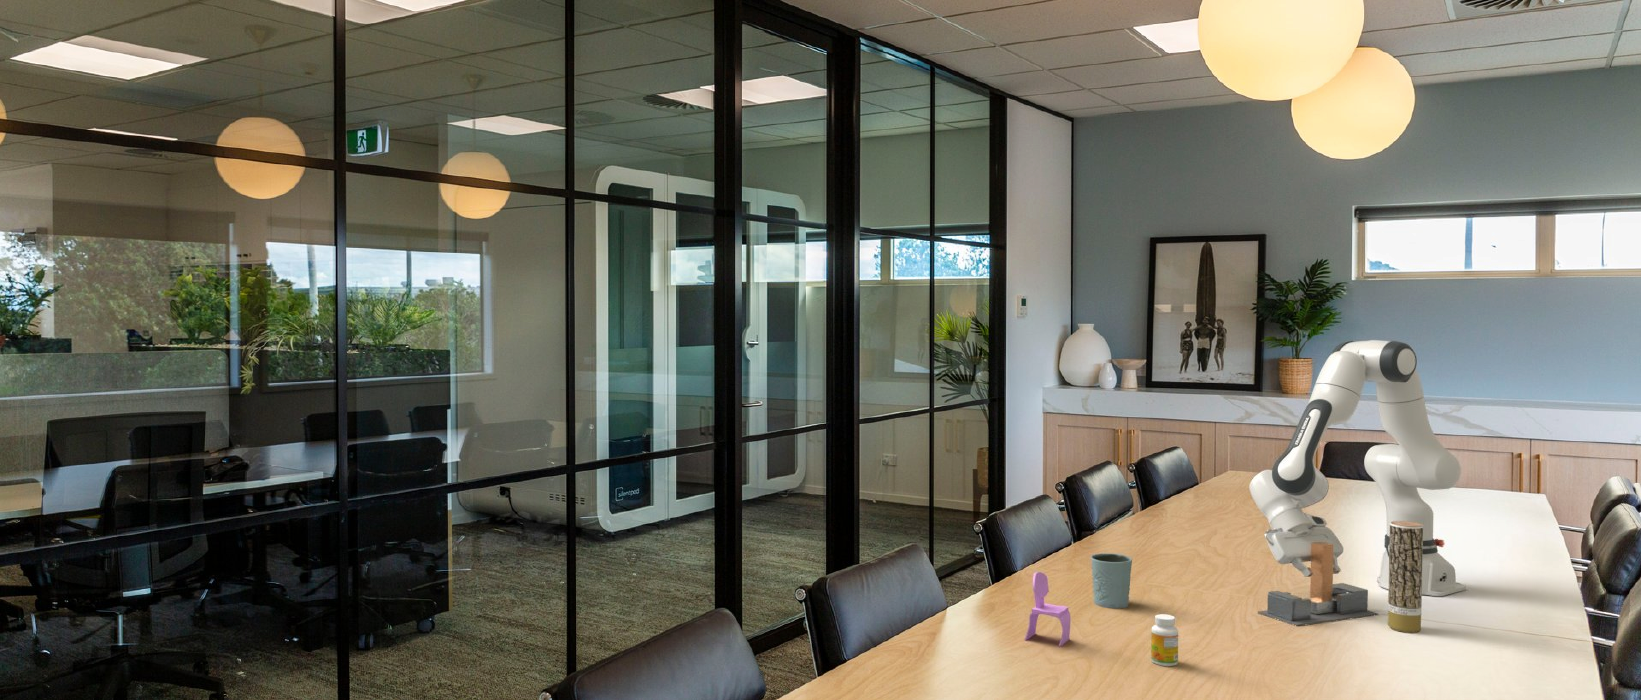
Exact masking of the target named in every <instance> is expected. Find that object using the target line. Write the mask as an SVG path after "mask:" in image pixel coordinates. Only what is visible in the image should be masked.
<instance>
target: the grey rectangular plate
mask: <svg viewBox="0 0 1641 700" xmlns="http://www.w3.org/2000/svg"><path fill="white" fill-rule="evenodd" d="M1267 611H1268V609H1267V610H1260V611H1257V614H1259V613H1260V614H1259V615H1262V614H1263V615H1262V616H1265V617H1267V618H1272V619H1274V618H1276V619H1275V620H1277V619H1279V620H1278V621H1280V620H1281V621H1280V622H1283V621H1284V622H1283V623H1286V622H1287V623H1286V624H1289V625H1292V624H1294V625H1293V626H1295V625H1296V626H1295V627H1300V626H1299V625H1302V626H1306V625H1305V624H1309V625H1315V624H1322V623H1323V622H1324V623H1330V622H1329V621H1331V622H1336V620H1338V621H1345V620H1344V619H1346V620H1350V618H1353V619H1360V618H1367V617H1374V615H1375V616H1379V613H1378V612H1376V611H1372V610H1368V611H1367V612H1359V613H1352V614H1345V615H1340V614H1337V612H1329V613H1321V614H1315V613H1311V619H1307V620H1300V621H1292V622H1291V621H1288V620H1285V619H1282V618H1279V617H1276V616H1273V615H1270V614H1267ZM1342 619H1343V620H1342ZM1324 623H1323V624H1324Z"/></svg>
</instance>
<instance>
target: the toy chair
mask: <svg viewBox="0 0 1641 700" xmlns="http://www.w3.org/2000/svg"><path fill="white" fill-rule="evenodd" d="M1032 590H1033V593H1034V594H1033V595H1034V602H1035V606H1034V607H1032V608H1031V612H1030V614H1029V618H1028V619H1029V620H1028V622H1029V623H1028V628H1027V631H1026V634H1025V638H1024V641H1027V640H1029V639H1030V638H1032V637H1033V636H1035V635H1036V633H1037V632H1036V631H1037V623H1038V619H1039V615H1044V616H1049V617H1054V618H1057V619H1058V620H1059V622H1060V625H1061V630H1062V632H1061V637H1060V641H1059V644H1058V647H1059V648H1060V647H1062V646H1063V645H1064V644H1065V643H1067V642H1068V641H1069V640H1070V634H1071V633H1070V631H1071V612H1070V611H1069V606H1065V605H1055V604H1051V603H1045V598H1046V597H1047V595H1048V594H1049V580H1048V577H1047V574H1046V573H1044V572H1041V571H1036V572H1034V573H1033V577H1032Z"/></svg>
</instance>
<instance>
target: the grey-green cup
mask: <svg viewBox="0 0 1641 700" xmlns="http://www.w3.org/2000/svg"><path fill="white" fill-rule="evenodd" d="M1090 563H1091V573H1092V574H1091V575H1092V579H1091V580H1092V584H1093V585H1092V588H1093V589H1092V591H1093V602H1094V605H1095V606H1099V607H1101V608H1105V609H1106V608H1107V609H1124V608H1127V607H1128V606H1129V603H1130V602H1129V601H1130V590H1131V588H1130V587H1131V574H1132V573H1131V572H1132V566H1133V565H1132V564H1133V558H1132V557H1130V556H1128V555H1126V554H1119V553H1113V552H1112V553H1110V552H1109V553H1108V552H1105V553H1094V554H1093V555H1091V556H1090Z"/></svg>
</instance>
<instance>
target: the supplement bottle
mask: <svg viewBox="0 0 1641 700" xmlns="http://www.w3.org/2000/svg"><path fill="white" fill-rule="evenodd" d="M1154 617H1155V618H1154V623H1155V624H1154V625H1153V626H1152V627H1151V637H1150V638H1151V639H1150V640H1151V645H1150V660H1151V662H1152V663H1153V664H1155V665H1158V666H1162V667H1172V666H1173V667H1175V666H1176V665H1177V664H1178V662H1179V661H1178V660H1179V629H1178V628H1177V627H1176V626H1175V624H1176V617H1175V616H1173V615H1170V614H1165V613H1161V614H1156V615H1155V616H1154Z"/></svg>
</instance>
